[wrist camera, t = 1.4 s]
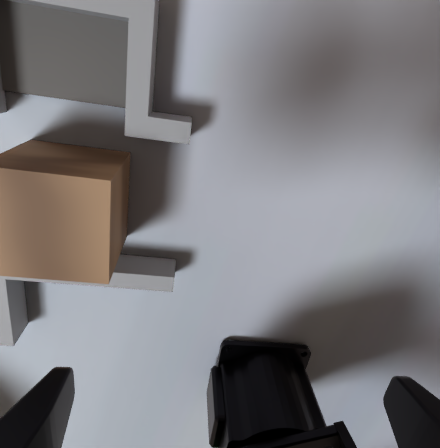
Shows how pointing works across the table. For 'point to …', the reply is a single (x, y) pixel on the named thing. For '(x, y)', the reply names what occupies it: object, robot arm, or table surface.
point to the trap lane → (87, 100)
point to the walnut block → (62, 211)
